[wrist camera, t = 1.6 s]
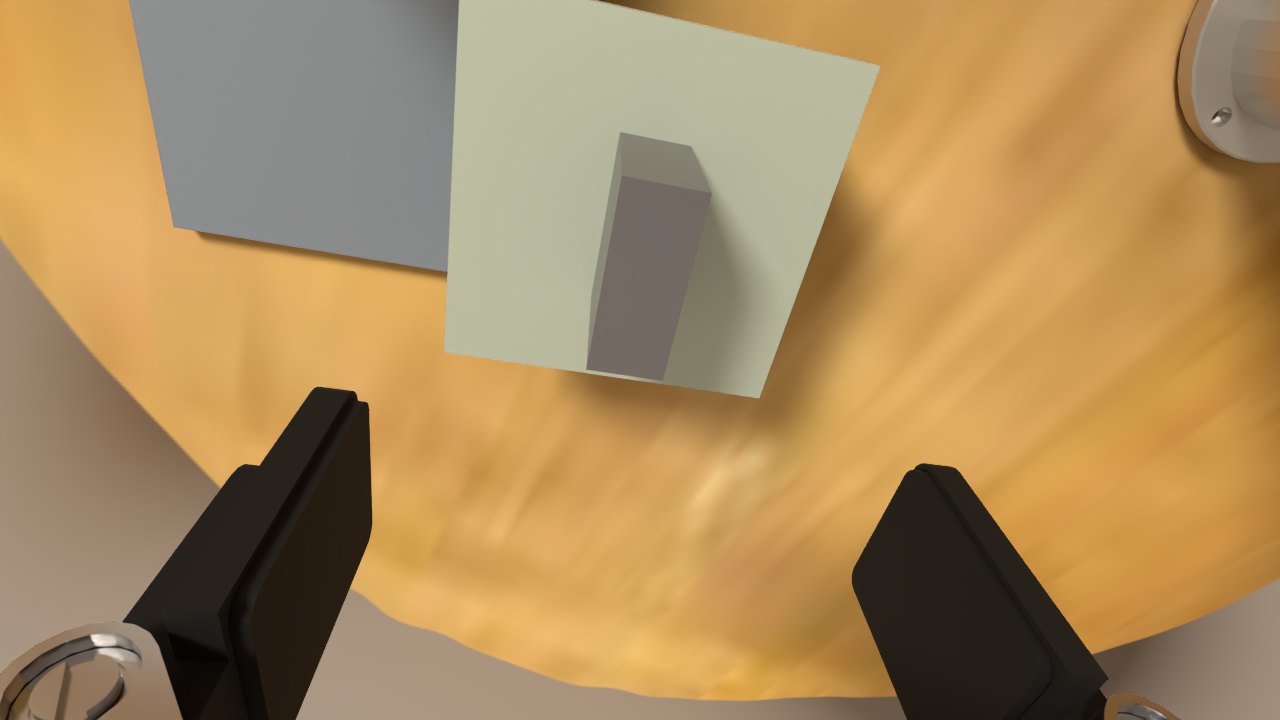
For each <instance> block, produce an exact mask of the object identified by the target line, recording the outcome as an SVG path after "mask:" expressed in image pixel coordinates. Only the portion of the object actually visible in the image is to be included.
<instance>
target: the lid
mask: <svg viewBox="0 0 1280 720" xmlns="http://www.w3.org/2000/svg"><path fill="white" fill-rule="evenodd" d="M879 69H880V66H878V65H875V64H872V63H870V62H866V61H862V60H858V59H853V58H849V57H844V56H840V55H836V54H831V53H827V52H822V51H818V50H814V49H809V48H805V47H801V46H796V45H792V44H787V43H783V42H779V41H774V40H770V39H765V38H761V37H757V36H752V35H748V34H743V33H739V32H735V31H730V30H726V29H722V28H717V27H713V26H708V25H704V24H700V23H695V22H691V21H686V20H682V19H678V18H673V17H669V16H664V15H660V14H656V13H651V12H647V11H643V10H638V9H634V8H629V7H625V6H621V5H616V4H612V3H607V2H603V1H599V0H459V13H458V37H457V60H456V84H455V108H454V132H453V155H452V179H451V203H450V227H449V250H448V274H447V298H446V322H445V345H444V352H445V353H452V354H459V355H466V356H473V357H480V358H486V359H493V360H500V361H507V362H514V363H520V364H527V365H534V366H541V367H548V368H555V369H561V370H568V371H575V372H582V373H589V374H596V375H602V376H609V377H616V378H623V379H630V380H636V381H643V382H650V383H657V384H664V385H671V386H677V387H684V388H691V389H698V390H705V391H712V392H718V393H725V394H732V395H739V396H746V397H752V398H760V395H761V392H762V389H763V387H764V384H765V381H766V378H767V376H768V373H769V370H770V367H771V365H772V362H773V359H774V357H775V354H776V351H777V348H778V346H779V343H780V340H781V337H782V335H783V332H784V329H785V326H786V324H787V321H788V318H789V315H790V313H791V310H792V307H793V304H794V302H795V299H796V296H797V294H798V291H799V288H800V285H801V283H802V280H803V277H804V274H805V272H806V269H807V266H808V263H809V261H810V258H811V255H812V252H813V250H814V247H815V244H816V242H817V239H818V236H819V233H820V231H821V228H822V225H823V222H824V220H825V217H826V214H827V211H828V209H829V206H830V203H831V200H832V198H833V195H834V192H835V189H836V187H837V184H838V181H839V179H840V176H841V173H842V170H843V168H844V165H845V162H846V159H847V157H848V154H849V151H850V148H851V146H852V143H853V140H854V137H855V135H856V132H857V129H858V127H859V124H860V121H861V118H862V116H863V113H864V110H865V107H866V105H867V102H868V99H869V96H870V94H871V91H872V88H873V85H874V83H875V80H876V77H877V75H878V72H879Z"/></svg>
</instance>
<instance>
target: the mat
mask: <svg viewBox="0 0 1280 720" xmlns="http://www.w3.org/2000/svg"><path fill="white" fill-rule="evenodd" d="M129 3H130V8H131V13H132V18H133V23H134V28H135V33H136V38H137V43H138V48H139V53H140V59H141V64H142V69H143V74H144V79H145V84H146V89H147V94H148V99H149V104H150V109H151V114H152V119H153V124H154V130H155V135H156V140H157V145H158V150H159V155H160V160H161V165H162V170H163V175H164V180H165V185H166V190H167V195H168V201H169V206H170V211H171V216H172V221H173V226H174V227H176V228H182V229H188V230H194V231H200V232H206V233H212V234H218V235H224V236H231V237H237V238H243V239H249V240H255V241H261V242H267V243H273V244H280V245H286V246H292V247H298V248H304V249H310V250H316V251H322V252H328V253H335V254H341V255H347V256H353V257H359V258H365V259H371V260H377V261H383V262H390V263H396V264H402V265H408V266H414V267H420V268H426V269H432V270H439V271H445V272H448V250H449V227H450V203H451V179H452V155H453V132H454V108H455V84H456V60H457V37H458V13H459V0H129Z"/></svg>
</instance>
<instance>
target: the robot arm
mask: <svg viewBox="0 0 1280 720" xmlns="http://www.w3.org/2000/svg"><path fill="white" fill-rule="evenodd" d="M1177 79H1178V91H1179V102H1180V105H1181V108H1182V111H1183V114H1184V116H1185V119H1186V122H1187V124H1188V125H1189V127H1190V128H1191V129H1192V131H1193V132H1194V133H1195V135H1196V136H1197V138H1198V139H1199V140H1201V141H1202V142H1203V143H1205V144H1206V145H1207V146H1209V147H1210V148H1211V149H1213V150H1214V151H1217V152H1220V153H1222V154H1225V155H1228V156H1231V157H1233V158H1236V159H1241V160H1245V161H1249V162H1254V163H1258V164H1264V163H1280V0H1199V1H1198V3H1197V5H1196V7H1195V9H1194V12H1193V14H1192V16H1191V18H1190V20H1189V24H1188V27H1187V31H1186V34H1185V37H1184V41H1183V44H1182V48H1181V51H1180V60H1179V69H1178V77H1177ZM371 529H372V494H371V460H370V427H369V406H368V403H367V402H362V401H358V399H357V395H356V393H355V392H354V391H348V390H340V389H332V388H324V387H316V388H314V389H313V390H312V391H311V393H310V394H309V395H308V397H307V398H306V400H305V401H304V403H303V404H302V406H301V407H300V408H299V410H298V411H297V413H296V414H295V416H294V417H293V418H292V420H291V421H290V423H289V424H288V426H287V427H286V428H285V430H284V431H283V433H282V434H281V436H280V437H279V438H278V440H277V441H276V443H275V444H274V446H273V447H272V449H271V450H270V451H269V453H268V454H267V456H266V457H265V459H264V460H263V461H262V463H261V464H260V466H257V465H248V464H244V465H242V466H240V467H238V468H237V469H236V471H235V472H234V473H233V474H232V475H231V476H230V477H229V479H228V480H227V481H226V483H225V484H224V485H223V487H222V488H221V490H220V491H219V492H218V494H217V495H216V496H215V498H214V499H213V500H212V502H211V503H210V504H209V506H208V507H207V508H206V510H205V511H204V512H203V514H202V515H201V516H200V518H199V519H198V521H197V522H196V523H195V525H194V526H193V527H192V529H191V530H190V531H189V533H188V534H187V535H186V537H185V538H184V539H183V541H182V542H181V543H180V545H179V546H178V548H177V549H176V550H175V552H174V553H173V554H172V556H171V557H170V558H169V560H168V561H167V563H166V564H165V565H164V566H163V568H162V569H161V571H160V572H159V573H158V575H157V576H156V577H155V579H154V580H153V581H152V583H151V584H150V585H149V587H148V588H147V590H146V591H145V592H144V594H143V595H142V596H141V598H140V599H139V600H138V602H137V603H136V604H135V606H134V607H133V608H132V610H131V611H130V612H129V614H128V615H127V617H126V618H125V619H124V620H123V622H122V623H121V622H115V621H113V622H103V623H93V624H88V625H84V626H81V627H77V628H74V629H71V630H68V631H64V632H62V633H60V634H58V635H56V636H54V637H51V638H49V639H47V640H45V641H43V642H41V643H39V644H37V645H35V646H34V647H33V648H31V649H30V650H28V651H27V652H26V653H24V654H23V655H21V656H20V657H19V658H17V659H16V660H15V661H13V662H12V663H11V664H10V665H9V666H8V667H7V668H6V669H5V670H4V671H3V672H2V673H1V674H0V720H296V717H297V715H298V712H299V710H300V708H301V705H302V702H303V700H304V698H305V696H306V693H307V691H308V688H309V686H310V683H311V681H312V678H313V676H314V673H315V671H316V669H317V666H318V664H319V661H320V659H321V657H322V654H323V652H324V649H325V647H326V644H327V642H328V640H329V637H330V635H331V632H332V630H333V627H334V625H335V622H336V620H337V617H338V615H339V613H340V610H341V608H342V605H343V603H344V601H345V598H346V596H347V593H348V591H349V588H350V586H351V584H352V581H353V579H354V576H355V574H356V571H357V569H358V567H359V564H360V562H361V559H362V557H363V554H364V552H365V549H366V547H367V544H368V542H369V538H370V534H371ZM852 585H853V589H854V592H855V594H856V596H857V599H858V601H859V604H860V606H861V609H862V611H863V613H864V616H865V618H866V621H867V623H868V626H869V628H870V630H871V633H872V635H873V638H874V640H875V643H876V645H877V647H878V650H879V652H880V655H881V657H882V660H883V662H884V664H885V667H886V669H887V672H888V674H889V677H890V679H891V681H892V684H893V686H894V689H895V691H896V694H897V696H898V698H899V701H900V703H901V706H902V708H903V710H904V713H905V715H906V718H907V720H1181V719H1179V718H1178V717H1176V716H1175V715H1174V714H1172V713H1171V712H1169V711H1168V710H1166V709H1165V708H1164V707H1162V706H1160V705H1158V704H1156V703H1154V702H1152V701H1150V700H1148V699H1146V698H1144V697H1141V696H1137V695H1134V694H1130V693H1116V694H1115V695H1113V696H1111V697H1110V698H1108V699H1106V698H1105V696H1104V695H1103V694H1102V692H1101V691H1100V689H1099V688H1100V687H1101V686H1102V685H1103V684H1104V683H1105V682H1106V681H1107V680H1108V677H1107V676H1106V674H1105V673H1104V671H1103V670H1102V669H1101V667H1100V666H1099V664H1098V663H1097V662H1096V660H1095V659H1094V658H1093V656H1092V655H1091V653H1090V652H1089V651H1088V649H1087V648H1086V646H1085V645H1084V644H1083V642H1082V641H1081V640H1080V638H1079V637H1078V635H1077V634H1076V633H1075V631H1074V630H1073V628H1072V627H1071V626H1070V624H1069V623H1068V622H1067V620H1066V619H1065V617H1064V616H1063V615H1062V613H1061V612H1060V610H1059V609H1058V608H1057V606H1056V605H1055V604H1054V602H1053V601H1052V599H1051V598H1050V597H1049V595H1048V594H1047V592H1046V591H1045V590H1044V588H1043V587H1042V586H1041V584H1040V583H1039V581H1038V580H1037V579H1036V577H1035V576H1034V574H1033V573H1032V572H1031V570H1030V569H1029V568H1028V566H1027V565H1026V563H1025V562H1024V561H1023V559H1022V558H1021V556H1020V555H1019V554H1018V552H1017V551H1016V550H1015V548H1014V547H1013V545H1012V544H1011V543H1010V541H1009V540H1008V538H1007V537H1006V536H1005V534H1004V533H1003V532H1002V530H1001V529H1000V527H999V526H998V525H997V523H996V522H995V520H994V519H993V518H992V516H991V515H990V514H989V512H988V511H987V509H986V508H985V507H984V505H983V504H982V502H981V501H980V500H979V498H978V497H977V496H976V494H975V493H974V491H973V490H972V489H971V487H970V486H969V484H968V483H967V482H966V480H965V479H964V478H963V476H962V475H961V473H960V472H959V471H958V470H957V469H956V468H953V467H949V466H941V465H933V464H925V463H924V464H919V465H918V466H916V467H915V469H914V470H910V471H908V472H907V473H906V475H905V476H904V478H903V480H902V481H901V483H900V485H899V487H898V489H897V490H896V492H895V494H894V496H893V498H892V499H891V501H890V503H889V505H888V507H887V509H886V510H885V512H884V514H883V516H882V518H881V519H880V521H879V523H878V525H877V527H876V529H875V530H874V532H873V534H872V536H871V538H870V539H869V541H868V543H867V545H866V547H865V549H864V550H863V552H862V554H861V556H860V558H859V559H858V561H857V563H856V565H855V567H854V569H853V573H852Z"/></svg>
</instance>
